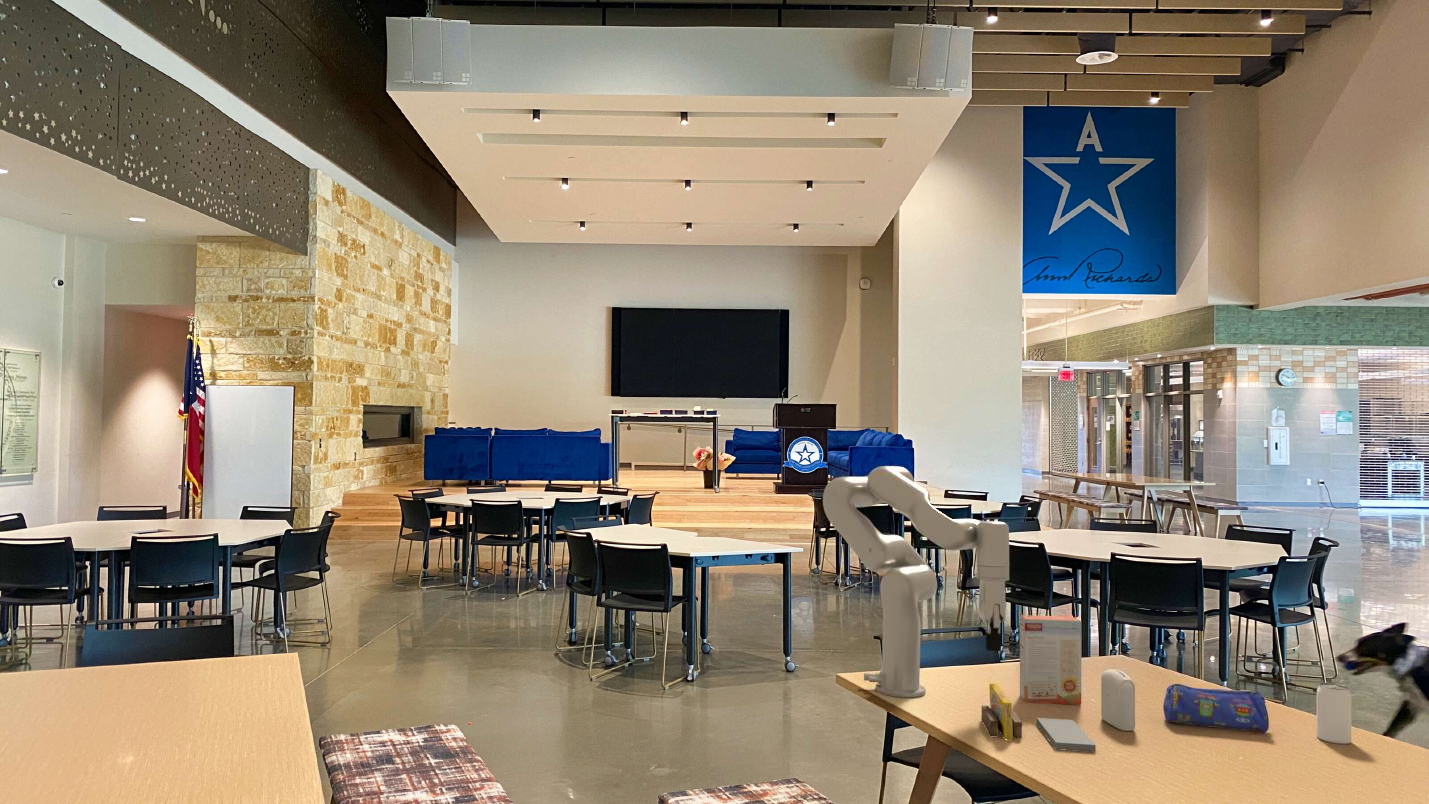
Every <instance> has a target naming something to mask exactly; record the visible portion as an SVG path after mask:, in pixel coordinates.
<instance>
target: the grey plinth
mask: <svg viewBox="0 0 1429 804" xmlns="http://www.w3.org/2000/svg"><path fill="white" fill-rule="evenodd" d="M1036 725H1038V726H1039V727H1040V728H1039V727H1038V726H1037V727H1038V728H1039V730H1040V729H1041V730H1042V731H1041V730H1040V731H1041V732H1042V733H1043V735H1044V734H1045V735H1046V736H1047V737H1046V736H1045V735H1044V736H1045V737H1046V739H1047V738H1048V739H1049V740H1050V741H1049V740H1048V739H1047V740H1048V741H1049V742H1051V743H1052V744H1053V745H1052V744H1051V743H1050V744H1051V745H1052V747H1053V746H1054V747H1055V748H1056V749H1066V750H1065V751H1069V750H1078V751H1077V752H1083V751H1088V752H1087V753H1096V752H1097V750H1096V747H1097V745H1096V744H1095V742H1093V740H1092V739H1091V738H1090V737H1089V736H1088V735H1087V734H1086V733H1085V731H1083V729H1082V728H1081V727H1080V726H1079V725H1078V724H1077V723H1076V722H1075V721H1074V720H1073V719H1063V718H1062V719H1061V718H1046V717H1036ZM1054 747H1053V748H1054ZM1055 748H1054V749H1055ZM1056 749H1055V750H1056Z"/></svg>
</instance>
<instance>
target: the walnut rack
mask: <svg viewBox="0 0 1429 804" xmlns="http://www.w3.org/2000/svg"><path fill="white" fill-rule="evenodd" d="M980 719H981V720H982V721H981V722H983V723H984V724H983V723H982V724H983V726H984V725H985V726H984V728H985V727H986V728H987V730H988V731H987V730H986V731H987V733H988V732H989V733H988V735H989V734H990V735H989V737H990V736H998V735H999V730H998V720H997V719H996V717H995V716H994V714H993V712H992V711H991V709H990V705H983V704H982V705H981V718H980ZM986 728H985V729H986ZM1012 730H1013V736H1014V737H1013V739H1017V738H1021V740H1022V739H1023V722H1022V720H1021V719H1020V718H1019V716H1018V715H1017V713H1016V712H1015V711H1014V709H1013V708H1012Z"/></svg>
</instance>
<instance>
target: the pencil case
mask: <svg viewBox="0 0 1429 804" xmlns="http://www.w3.org/2000/svg"><path fill="white" fill-rule="evenodd" d="M1162 705H1163V706H1162V707H1163V708H1162V709H1163V714H1164V718H1165V721H1167V722H1170V723H1173V722H1174V723H1179V724H1189V725H1197V726H1204V727H1210V728H1222V729H1232V730H1238V731H1239V730H1240V731H1255V732H1258V733H1262V734H1264V733H1266V732H1267V733H1268V731H1269V728H1270V722H1269V721H1270V720H1269V713H1268V709H1267V706H1266V705H1267V704H1266V699H1265V697H1264V696H1263V695H1262V694H1261V693H1259V691H1257V690H1256V689H1250V690H1249V689H1239V690H1235V689H1233V690H1232V689H1231V690H1228V689H1218V688H1217V689H1216V688H1202V687H1201V688H1199V687H1192V686H1188V685H1184V684H1181V683H1174V684H1170V685H1168V686H1167V688H1166V692H1165V697H1164V700H1163V704H1162Z"/></svg>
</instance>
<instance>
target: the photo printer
mask: <svg viewBox="0 0 1429 804" xmlns="http://www.w3.org/2000/svg"><path fill="white" fill-rule="evenodd" d="M1100 678H1101V683H1100V687H1101V688H1100V689H1101V692H1100V694H1101V695H1100V696H1101V697H1100V698H1101V699H1100V701H1101V703H1100V706H1101V709H1100V712H1101V713H1100V715H1101V719H1102V720H1103V721H1105V722H1106V723H1108V724H1109V725H1111V726H1112V727H1115V729H1117V730H1121V731H1123V732H1131V731H1132V732H1133V731H1134V730H1135V729H1136V685H1135V683H1134V681H1133V680H1132V678H1131V677H1130V676H1129V675H1127V673H1125V672H1123V671H1122V670H1119V669H1107V670H1104V671H1103V673H1102V674H1101V677H1100Z"/></svg>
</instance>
